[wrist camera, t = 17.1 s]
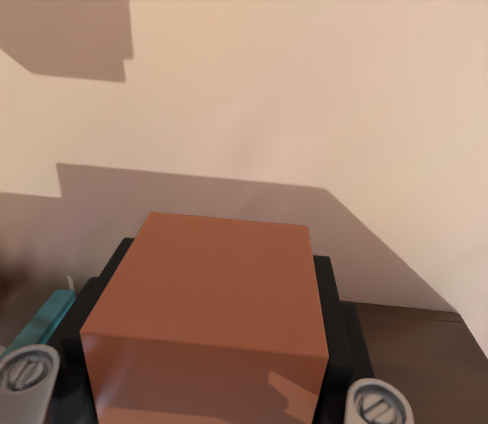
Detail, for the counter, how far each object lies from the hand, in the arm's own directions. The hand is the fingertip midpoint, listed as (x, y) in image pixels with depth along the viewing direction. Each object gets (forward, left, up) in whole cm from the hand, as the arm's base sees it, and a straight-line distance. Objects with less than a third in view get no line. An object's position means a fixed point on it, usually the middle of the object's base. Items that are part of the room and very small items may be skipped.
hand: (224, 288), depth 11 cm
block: (0, 0, 0) cm, 0 cm away
